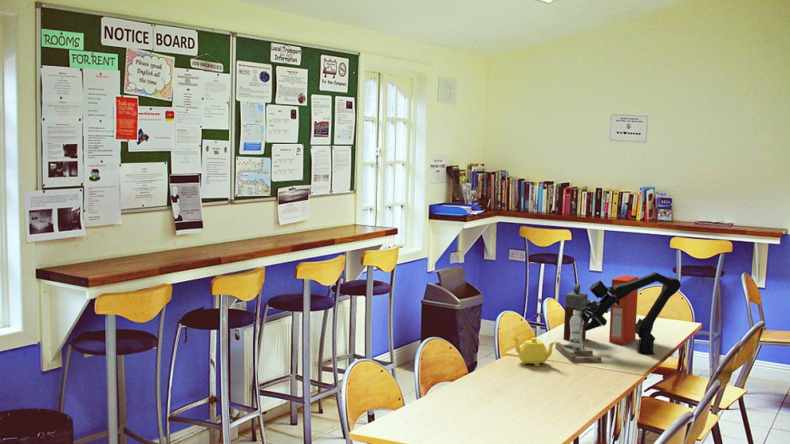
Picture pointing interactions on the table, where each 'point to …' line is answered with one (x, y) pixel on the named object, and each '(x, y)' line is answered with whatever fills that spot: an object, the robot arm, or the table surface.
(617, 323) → the file binder
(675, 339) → the table surface
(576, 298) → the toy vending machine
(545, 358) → the teapot
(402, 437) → the table surface
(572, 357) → the comb rack
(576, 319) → the plastic bottle
